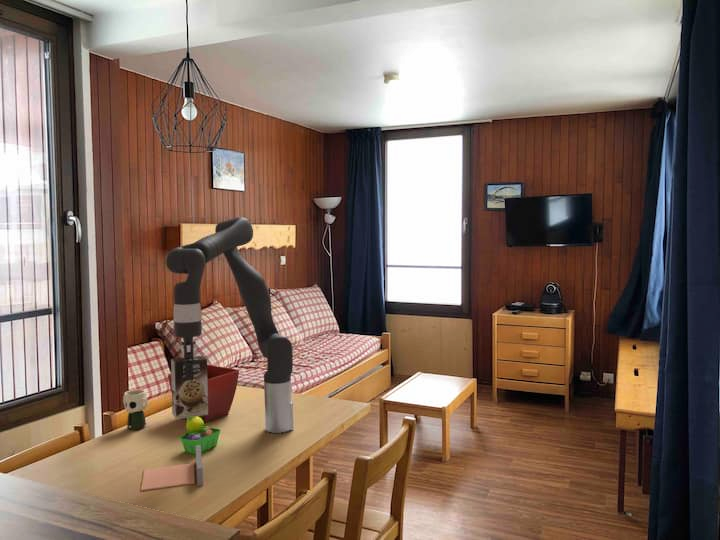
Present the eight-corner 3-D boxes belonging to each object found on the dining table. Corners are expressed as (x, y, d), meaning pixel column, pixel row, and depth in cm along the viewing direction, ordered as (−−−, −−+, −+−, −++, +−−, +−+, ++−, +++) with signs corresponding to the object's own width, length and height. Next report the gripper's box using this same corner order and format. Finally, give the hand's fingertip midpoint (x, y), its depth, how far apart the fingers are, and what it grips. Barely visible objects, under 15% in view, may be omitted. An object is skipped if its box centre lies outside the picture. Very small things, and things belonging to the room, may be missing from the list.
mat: (193, 464, 178) (193, 463, 178) (194, 483, 165) (194, 482, 165) (144, 470, 174) (144, 469, 174) (141, 491, 161) (140, 489, 161)
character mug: (117, 429, 211) (115, 393, 210) (132, 422, 218) (130, 388, 216) (141, 433, 207) (139, 396, 206) (155, 426, 213) (153, 390, 212)
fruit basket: (195, 457, 184) (194, 421, 183) (176, 451, 189) (174, 417, 188) (222, 445, 194) (221, 411, 193) (203, 440, 198) (201, 407, 197)
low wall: (201, 460, 181) (200, 444, 180) (203, 485, 164) (202, 467, 163) (196, 461, 180) (195, 445, 180) (197, 486, 163) (196, 468, 163)
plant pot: (242, 412, 226) (240, 369, 225) (204, 427, 210) (202, 381, 209) (206, 405, 237) (205, 363, 235) (168, 419, 221) (165, 374, 219)
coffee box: (176, 419, 165) (174, 362, 164) (171, 413, 170) (170, 358, 169) (209, 414, 169) (207, 358, 168) (203, 408, 175) (202, 354, 174)
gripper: (202, 322, 162) (203, 382, 163) (200, 315, 176) (202, 370, 177) (173, 323, 160) (175, 384, 161) (174, 316, 174) (175, 372, 175)
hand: (189, 376), depth 169 cm, fingers closed on coffee box, 7 cm apart
